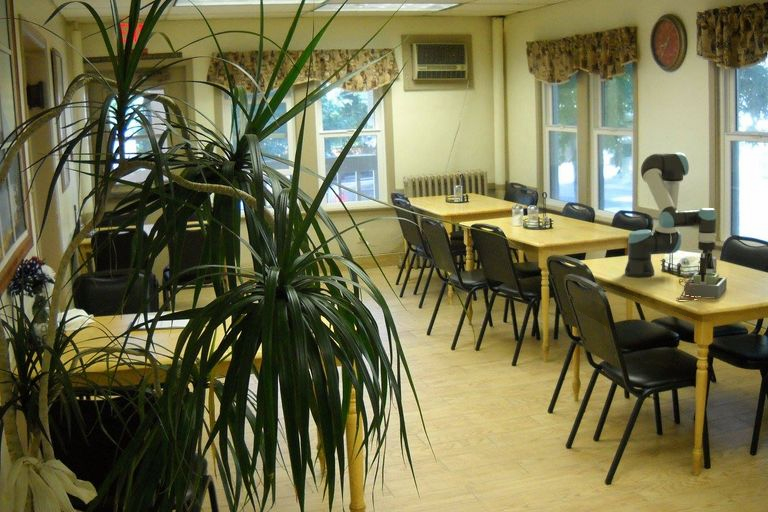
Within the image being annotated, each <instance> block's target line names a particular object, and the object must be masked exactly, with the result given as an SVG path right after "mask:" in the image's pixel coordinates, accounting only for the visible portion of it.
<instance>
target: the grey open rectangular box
mask: <svg viewBox="0 0 768 512" xmlns="http://www.w3.org/2000/svg"><path fill="white" fill-rule="evenodd" d="M691 277H692V279H691V278H690V279H691V282H689V284H688V289H690V285H692V286H693V285H695V284H693V276H691ZM727 278H728V277H726V276H725V277H724V276H723V277H721V276H719V283H718V284H717V285H705V284H696V288H695V287H693V288H695V289H693V288H692V286H691V291H692V293H693V295H694V296H701V297H700V298H703V297H714V298H713V299H716V298H718V297H719V296H720V297H721V296H722V295H723V294H724V293H725V292H726V291H727V284H728V283H727ZM688 280H689V279H688ZM689 281H690V280H689ZM684 285H685V289H687V284H685V283H684ZM725 290H726V291H725ZM691 291H690V290H685V291H684V295H685V294H686V292H688V293H689V295H692V293H691ZM723 292H724V293H723ZM688 293H687V295H688ZM722 293H723V294H722ZM693 295H692V296H693ZM720 297H719V298H720ZM719 298H718V299H719Z"/></svg>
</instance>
